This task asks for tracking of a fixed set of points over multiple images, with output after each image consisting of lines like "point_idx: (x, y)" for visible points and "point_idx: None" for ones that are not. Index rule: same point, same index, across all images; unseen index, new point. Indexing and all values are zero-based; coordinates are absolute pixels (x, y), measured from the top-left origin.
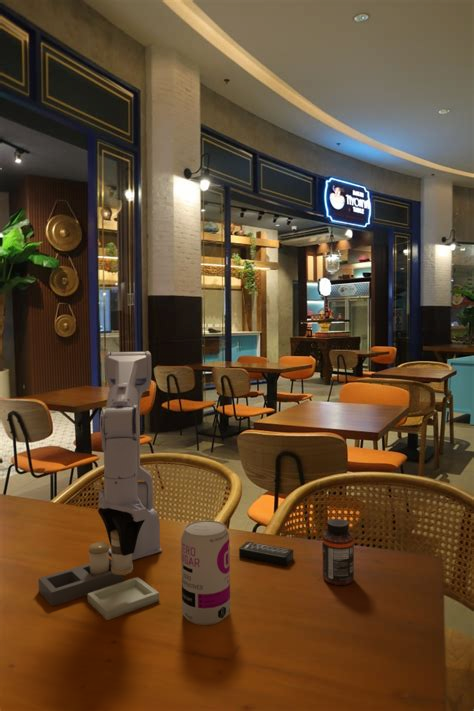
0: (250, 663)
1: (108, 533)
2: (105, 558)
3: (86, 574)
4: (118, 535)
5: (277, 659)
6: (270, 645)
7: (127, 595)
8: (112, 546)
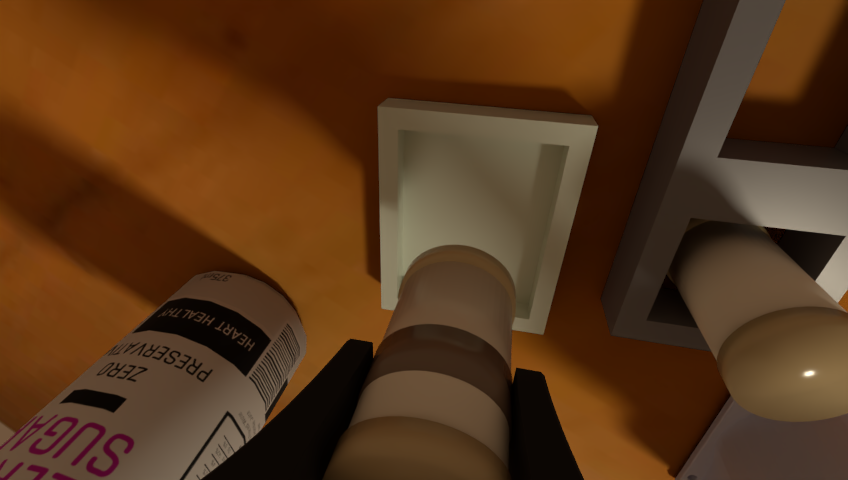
0: (21, 245)
1: (544, 466)
2: (704, 330)
3: (748, 209)
4: (296, 462)
5: (25, 286)
6: (74, 310)
7: (485, 246)
8: (432, 363)
